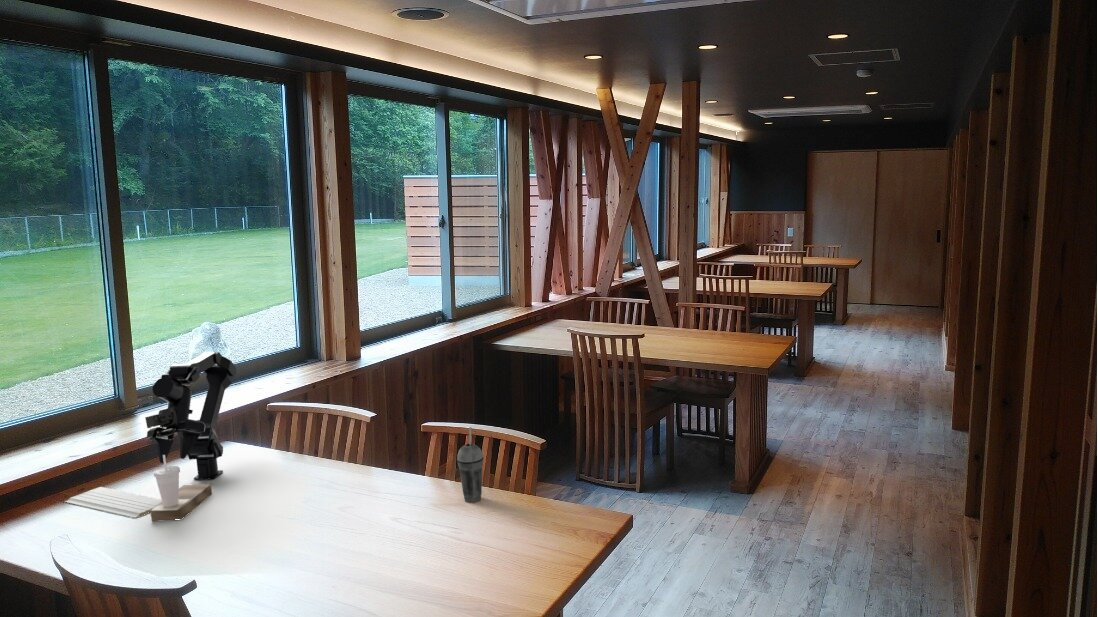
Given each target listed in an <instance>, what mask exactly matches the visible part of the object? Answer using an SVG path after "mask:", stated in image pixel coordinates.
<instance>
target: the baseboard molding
mask: <svg viewBox="0 0 1098 617" xmlns="http://www.w3.org/2000/svg"><path fill="white" fill-rule="evenodd" d="M100 485H101V484H99V483H98V486H99V487H95V488H93V486H92V487H90V488H86V487H83V488H81V489H78V490H77V492H74V493H73V495H75V493H76V494H77V493H80V492H82V491H85V490H88V489H91V488H93V489H91V490H88V491H86V492H82V493H80V494H77V495H75V496H71V497H69V498H68V500H65V499H62V500H61V501H60V503H61V504H63V503H65V502H67V503H66V504H69V503H70V504H69V505H73V504H75V505H74V506H78V505H79V507H82V506H83V508H86V507H87V508H86V509H92V510H95V509H96V511H99V510H101V511H100V512H104V511H105V513H108V512H109V513H108V514H113V513H114V514H113V515H117V514H119V515H118V516H121V515H122V517H126V516H127V518H130V517H132V518H131V519H135V518H136V517H138V518H140V517H143V516H145V515H147V514H149V513H148V512H150V510H151V509H153V508H154V507H155V506H157V505H158V504H159V503H161V502H162V499H161V498H157V497H152V496H150V497H149V496H146V495H141V494H136V493H133V492H126V491H124V490H123V491H122V490H118V489H112V488H108V487H103V486H100ZM66 497H68V495H67V496H66V495H65V496H64V498H66ZM62 502H63V503H62ZM146 513H147V514H146ZM150 513H151V512H150ZM144 514H145V515H144ZM142 515H143V516H142ZM139 516H140V517H139ZM136 519H137V518H136Z"/></svg>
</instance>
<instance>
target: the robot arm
mask: <svg viewBox="0 0 1098 617" xmlns="http://www.w3.org/2000/svg"><path fill="white" fill-rule="evenodd" d="M201 373H204V375H205V378H206V381H207V383H208V388H207V392H206V396H205V399H204V402H203V407H202V410H201V414H200V417H199V420H197V419H196V420H195V419H189V416H190V415H192V414H193V411H194V409H191V399H192V395H195V391H194V389H193V388H192V387H191V385H190V384H195V383H196V382H197V381H198V380H199V379H200V377H201V376H200V374H201ZM236 375H237V367H236V365H235V364H234V363H233V362H232V359H229V358H227V357H225V356H223V355H222V354H221V353H220V352H219V351H205V352H202V353H201V354H200V355H198V356H197V357H194V358H192V359H191V360H189V361H187V362H182V363H174V364H171V365H170V367H169V368H168V370H166V373H165V374H164V373H163V374H161V377H160V378H159V379H157V380H156V381H155V382H154V384H153V386H152V393H153V395H154V396H155V397H158V398H159V399H161V400H163V401H165V402H168V404H167V408H165V409H161V410H159V411H158V413H156V414H153V415H149V416H145V423H146V428H147V429H149V430H148V431H146V432H147V433H146V439H149V441H150V442H152V443H153V444H154V445H155V447H156V451H157V455H158V459H159V463H160V464H164V461H163V455H165V459H166V460H167V458H168V456H169V453H170V451H171V448H172V446H173V443H174V441H175V440H173V438H174V437H175V434H177V435H178V437H179V438H180V440H179V441H180V443H179V444H180V445H179V446H180V447H179V448H180V449H179V458H180V460H182V459H183V460H185V459H186V456H187V457H188V459H189V461H190V460H196V468H197V475H196V476H194V477H193V480H194V481H196V480H197V481H199V480H200V481H201V480H214V479H216V478H218V477H219V476H220V475H221V474H222V473H223V472H224V470H223V469H222V470H221V469H220V470H219V466H218V458H220V457H223V454H224V447H223V445H222V444H221V442H219V437H218V435H217V433H216V426H217V421H218V418H219V416H220V411H221V410H220V409H221V407H222V403H223V398H224V395H225V391H226V389H228V388H229V387H230V386H231V385H232V384H233V382H234V380H235V376H236ZM185 384H189V385H185ZM152 427H153V428H152Z"/></svg>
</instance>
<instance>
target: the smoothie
mask: <svg viewBox="0 0 1098 617" xmlns="http://www.w3.org/2000/svg"><path fill="white" fill-rule="evenodd" d="M163 461H164V463H163V467H160V468H157V469H156V470H154V471H153V477H155V481H156V484H157V488H158V491H159V494H160V499H162V503H163V506H164V507H172V506H175V505H177V504H178V503H179V488H180V473H181V469H180V468H181V467H179V466H176V465H169V466H167V462H166V461H167V458H166V459H165V455H163Z"/></svg>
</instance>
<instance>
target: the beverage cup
mask: <svg viewBox="0 0 1098 617" xmlns="http://www.w3.org/2000/svg"><path fill="white" fill-rule="evenodd" d="M468 435H469V443H466V444H464V445H463V446H461V447H460V448H459V450H458V453H457V455H456V457H457V458H456V461H457V465H458V468H459V476H460V481H461V487H462V493H463V494H462V495H463V499H464V502H466V503H469V504H475V503H478V502H481V500H482V492H483V490H482V486H483V484H482V482H483V466H484V465H483V464H484V459H485V458H484V454H483V451H482V449H481V447H479V446H478V445H476V444H474V443H472V427H470V426H469V434H468Z"/></svg>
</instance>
